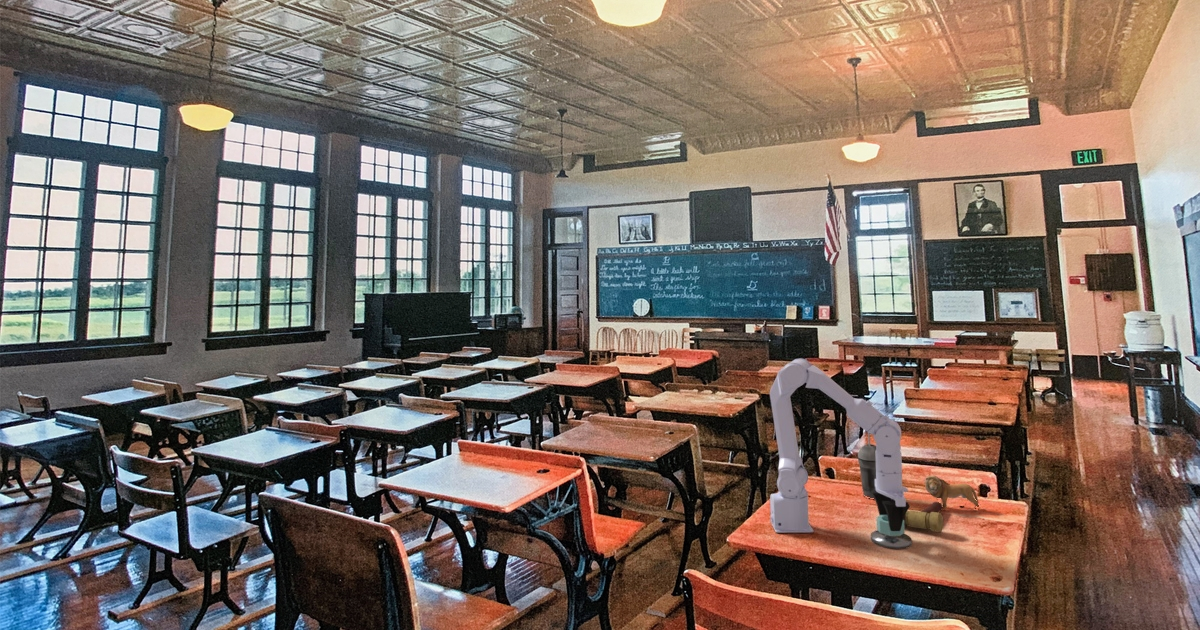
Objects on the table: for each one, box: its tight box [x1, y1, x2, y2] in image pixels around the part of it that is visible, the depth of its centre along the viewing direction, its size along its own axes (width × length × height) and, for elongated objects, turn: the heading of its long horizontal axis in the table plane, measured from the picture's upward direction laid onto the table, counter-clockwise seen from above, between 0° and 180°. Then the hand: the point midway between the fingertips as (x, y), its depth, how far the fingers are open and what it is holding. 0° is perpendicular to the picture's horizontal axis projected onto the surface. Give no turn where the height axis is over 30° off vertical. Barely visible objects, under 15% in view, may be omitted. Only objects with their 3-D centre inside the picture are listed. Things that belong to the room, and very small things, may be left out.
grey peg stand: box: [870, 529, 913, 550], centre depth 146 cm, size 9×9×4 cm
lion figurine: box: [924, 474, 980, 511], centre depth 164 cm, size 15×5×9 cm, turn 86°
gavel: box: [903, 501, 944, 533], centre depth 157 cm, size 21×5×10 cm
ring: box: [876, 515, 906, 536], centre depth 146 cm, size 6×6×3 cm
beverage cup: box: [857, 432, 876, 498], centre depth 176 cm, size 7×7×20 cm
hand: (890, 525), depth 146 cm, fingers closed on ring, 6 cm apart
